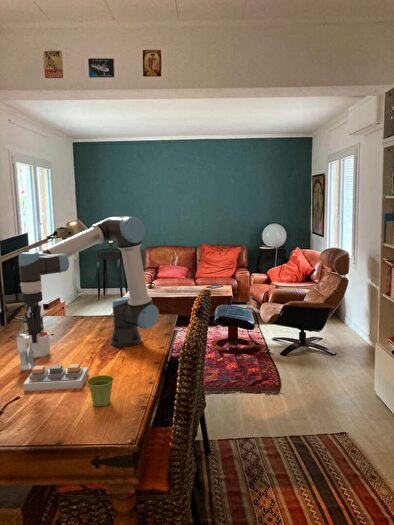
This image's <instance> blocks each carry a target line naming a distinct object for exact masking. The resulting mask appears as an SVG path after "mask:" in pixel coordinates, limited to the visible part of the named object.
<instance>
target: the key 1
mask: <svg viewBox="0 0 394 525" xmlns="http://www.w3.org/2000/svg"><path fill="white" fill-rule="evenodd" d="M45 369H46V365H35V366H34V367H33V369H32V370H31V373H43V371H44V370H45Z"/></svg>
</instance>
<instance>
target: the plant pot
mask: <svg viewBox="0 0 394 525" xmlns="http://www.w3.org/2000/svg"><path fill="white" fill-rule="evenodd" d="M114 381H115V378H114V377H113V376H111V375H105V374H100V375H95V376H92V377H89V378H88V379H87V381H86V384H87V386H88V388H89V391H90V397H91V401H92V405H93V406H94V407H105V406H108V405H109V404H110V403H111V400H112V399H111V398H112V389H113V388H112V386H113V382H114Z"/></svg>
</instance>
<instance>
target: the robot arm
mask: <svg viewBox="0 0 394 525" xmlns="http://www.w3.org/2000/svg"><path fill="white" fill-rule="evenodd" d="M145 234H146V228H145V225H144V223H143V221H141V219H139V218H137V217H134V216H129V215H128V216H125V215H124V216H111V217H107V218H105V219H103V220H101V221H98V222H96V223H94V224H92V225H91V226H90V227H89V229H86V230H83V231H82V232H79V233H77V234H75V235H73V236H71V237H68V238H66V239H64V240H61V241H59V242H57V243H55V244H53V245H50V246H48V247H46V248H44V249H41V250H39V251H25V252H24V251H23V252H21V253H19V255H18V269H19V275H20V278H19V280H20V283H19V286H20V289H21V302H22V303H24V304H27V305H26V312H24V316H25V317H26V320H27V326H28V332H29V334H28V335H31V341H32V351H37V350H40V339H39V333H41V331H39V330H41V316H42V315H41V314H42V313H41V311H42V309H41V308H42V305H39V303H40V302H42V301H43V291H42V290H43V288H42V287H43V286H42V276H44V275H45V276H46V275H51V274H58V273H59V274H60V273H64V272H67V271H68V270H69V268H70V260H69V257H71V256H74V255H76V254H78V253H80V252H82V251H84V250H86V249H88V248H91V247H93V246H94V245H97V244H99V245H102V244H104V243H107V242H115V243H116V248H117V249H118V250H119V251H121V257H122V261H123V268H124V272H125V278H126V283H127V289H128V294H129V296H125V297H119V298H118V297H117V298H115V299H113V300H112V315H113V329H112V330H113V331H112V335H111V339H110V340H111V345H112V346H114V347H119V348H121V347H122V348H126V347H133V346H137V345H139V344H140V343H142V336H141V333H140V330H139V328H141V329H150V328H153V327H154V326H155V325H156V323H157V321H158V319H159V317H160V311H159V308H158V306H156V305H155V304H153V299H152V297H151V296H150V295H149V294H148V288H147V283H146V277H145V271H144V266H143V260H142V255H141V254H142V252H141V250H140V249H141V248H140V247H141V246H142V245H143V239H144V238H145ZM25 317H24V318H25Z"/></svg>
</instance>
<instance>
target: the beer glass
mask: <svg viewBox="0 0 394 525" xmlns="http://www.w3.org/2000/svg"><path fill="white" fill-rule="evenodd" d="M28 334H29V333H25V334H23V333H21V334H18V335H16V346H17V353H18V356H19V359H20V371H22V372H28V371H30V372H31V371H32V369H33V367H34V366H36V364H35V360H34V359H35V358H34V351H32V341H31V335H28Z"/></svg>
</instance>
